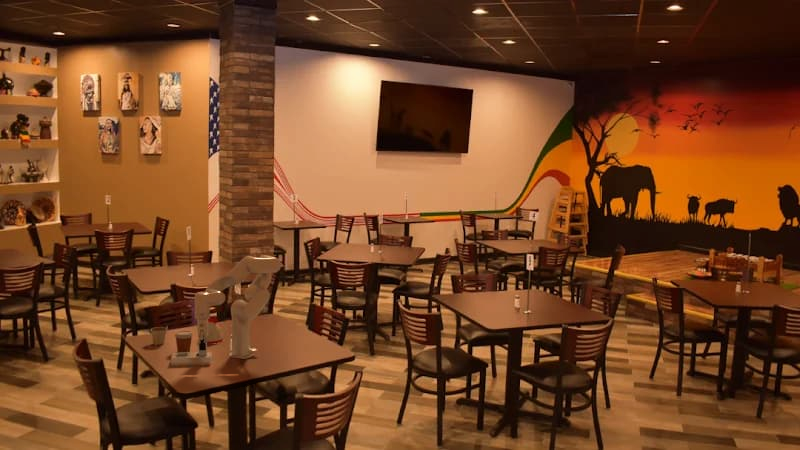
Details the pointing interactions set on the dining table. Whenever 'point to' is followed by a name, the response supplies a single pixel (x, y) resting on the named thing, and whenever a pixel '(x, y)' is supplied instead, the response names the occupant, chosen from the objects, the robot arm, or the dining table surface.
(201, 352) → the plug
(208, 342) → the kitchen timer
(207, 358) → the panel
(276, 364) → the dining table surface
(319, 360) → the dining table surface
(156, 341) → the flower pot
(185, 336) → the disposable coffee cup
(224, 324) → the dining table surface
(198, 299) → the robot arm
